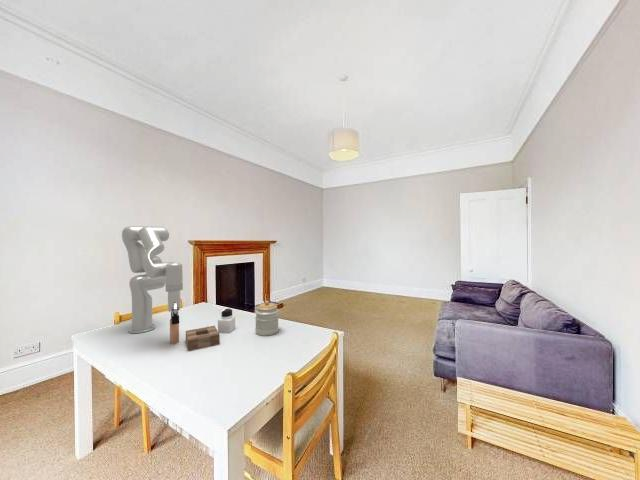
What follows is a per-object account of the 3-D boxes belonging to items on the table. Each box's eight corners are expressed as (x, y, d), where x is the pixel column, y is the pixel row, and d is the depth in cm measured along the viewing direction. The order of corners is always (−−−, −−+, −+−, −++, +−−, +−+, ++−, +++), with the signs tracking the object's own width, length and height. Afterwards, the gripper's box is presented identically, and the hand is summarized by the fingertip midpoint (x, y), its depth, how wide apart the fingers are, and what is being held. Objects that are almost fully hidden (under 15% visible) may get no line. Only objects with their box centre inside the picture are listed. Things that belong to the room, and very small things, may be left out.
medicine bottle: (235, 328, 145) (235, 308, 145) (229, 333, 138) (229, 311, 138) (223, 327, 146) (223, 307, 146) (217, 332, 139) (217, 311, 139)
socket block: (185, 340, 128) (185, 330, 128) (214, 334, 136) (214, 325, 136) (188, 351, 116) (187, 340, 116) (219, 344, 124) (219, 334, 124)
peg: (169, 342, 126) (169, 318, 126) (178, 340, 128) (178, 317, 128) (170, 345, 123) (169, 321, 123) (179, 343, 125) (179, 319, 125)
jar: (276, 336, 134) (276, 304, 133) (252, 336, 134) (252, 303, 134) (280, 327, 147) (280, 297, 146) (258, 327, 147) (258, 297, 147)
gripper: (165, 285, 130) (166, 318, 130) (165, 291, 116) (166, 327, 116) (181, 284, 134) (182, 315, 134) (183, 289, 120) (184, 324, 120)
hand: (175, 321), depth 125 cm, fingers open, 9 cm apart
